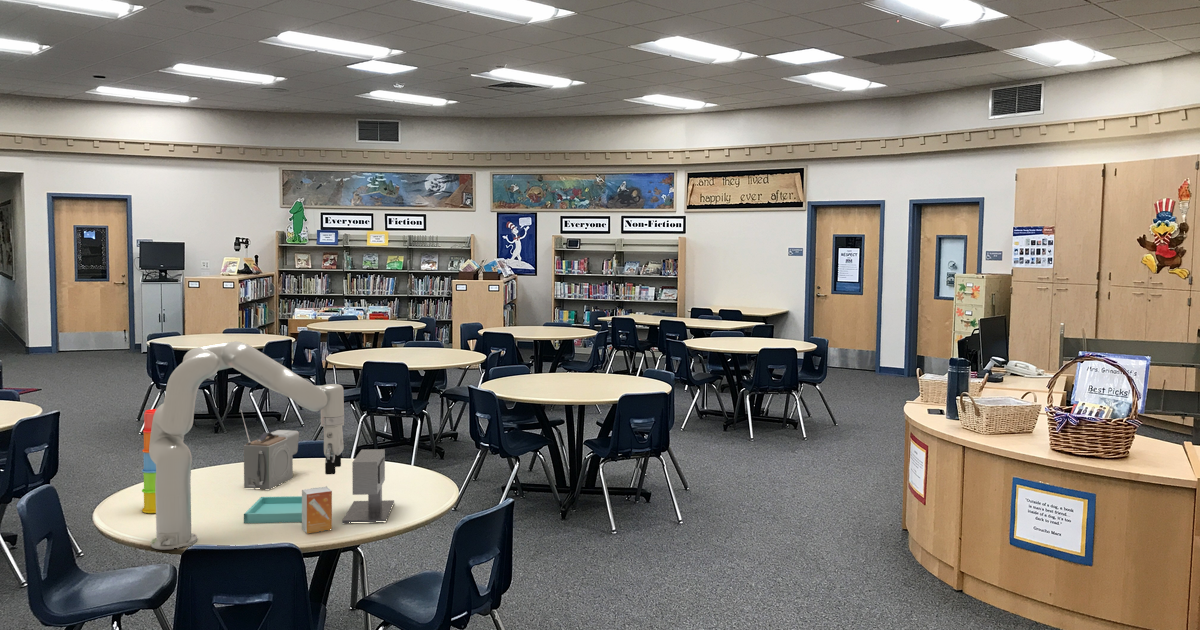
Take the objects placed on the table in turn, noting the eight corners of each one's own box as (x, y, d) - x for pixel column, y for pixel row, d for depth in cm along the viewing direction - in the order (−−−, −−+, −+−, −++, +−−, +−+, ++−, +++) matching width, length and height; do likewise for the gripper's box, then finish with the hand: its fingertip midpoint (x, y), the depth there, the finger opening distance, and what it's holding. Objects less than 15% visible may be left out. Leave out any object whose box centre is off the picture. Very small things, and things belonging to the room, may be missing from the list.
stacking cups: (136, 514, 280) (134, 413, 277) (150, 505, 290) (148, 407, 288) (168, 514, 281) (166, 413, 278) (180, 505, 291) (178, 407, 288)
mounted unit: (385, 523, 275) (385, 463, 274) (342, 524, 273) (341, 463, 272) (394, 503, 297) (394, 447, 295) (354, 504, 295) (353, 448, 294)
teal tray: (312, 521, 275) (312, 512, 275) (243, 523, 272) (243, 514, 272) (325, 504, 295) (325, 495, 295) (261, 505, 292) (261, 496, 292)
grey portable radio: (300, 475, 333) (299, 401, 331) (268, 491, 310) (267, 411, 308) (272, 473, 335) (271, 399, 333) (238, 489, 311) (237, 410, 309)
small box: (306, 534, 263) (306, 494, 262) (301, 528, 268) (301, 489, 267) (332, 530, 267) (332, 490, 266) (327, 524, 272) (326, 485, 271)
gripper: (338, 425, 273) (339, 476, 275) (348, 415, 290) (349, 463, 292) (315, 426, 272) (316, 477, 274) (326, 416, 289) (327, 464, 291)
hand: (333, 470), depth 283 cm, fingers open, 9 cm apart
